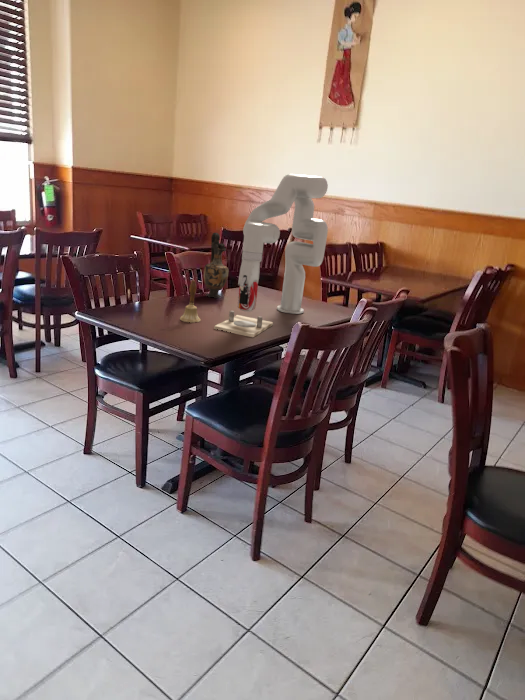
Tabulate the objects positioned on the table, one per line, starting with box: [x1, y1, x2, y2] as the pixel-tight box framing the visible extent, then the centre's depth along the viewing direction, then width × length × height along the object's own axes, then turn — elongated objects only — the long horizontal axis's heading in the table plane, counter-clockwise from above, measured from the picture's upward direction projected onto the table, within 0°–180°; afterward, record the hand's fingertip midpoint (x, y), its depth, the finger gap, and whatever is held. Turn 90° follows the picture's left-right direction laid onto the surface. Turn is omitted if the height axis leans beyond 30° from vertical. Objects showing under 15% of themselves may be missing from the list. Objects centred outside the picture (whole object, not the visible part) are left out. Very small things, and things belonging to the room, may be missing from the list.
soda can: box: [237, 280, 259, 313], centre depth 193 cm, size 7×7×12 cm
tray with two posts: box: [213, 310, 274, 338], centre depth 197 cm, size 22×16×5 cm
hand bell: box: [179, 279, 202, 324], centre depth 196 cm, size 8×8×16 cm
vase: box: [203, 232, 230, 299], centre depth 239 cm, size 12×12×30 cm
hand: (247, 301), depth 194 cm, fingers closed on soda can, 7 cm apart
